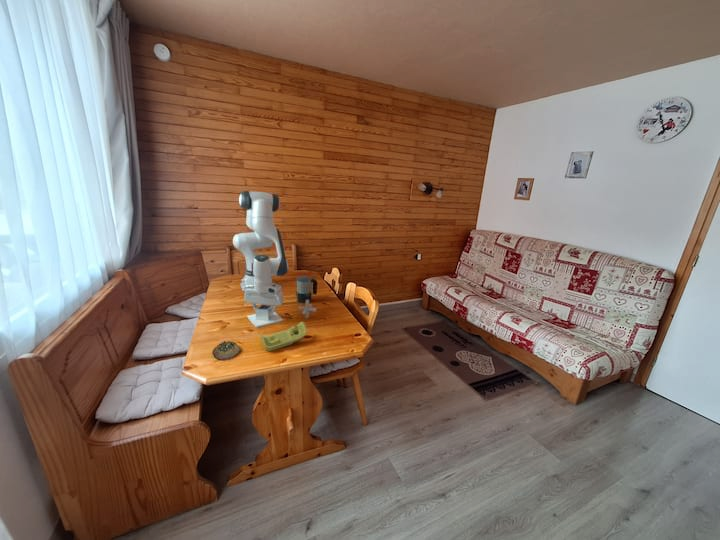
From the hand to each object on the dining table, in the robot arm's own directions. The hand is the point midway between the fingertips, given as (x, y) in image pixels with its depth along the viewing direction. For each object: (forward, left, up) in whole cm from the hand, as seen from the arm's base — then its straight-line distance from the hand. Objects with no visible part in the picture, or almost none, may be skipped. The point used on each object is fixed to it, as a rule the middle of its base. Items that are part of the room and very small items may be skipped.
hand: (264, 310), depth 147 cm
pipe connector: (+10, +20, -5) cm, 23 cm away
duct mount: (0, 0, -5) cm, 5 cm away
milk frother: (-16, +31, -5) cm, 35 cm away
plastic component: (+27, -1, -5) cm, 28 cm away
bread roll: (+21, -24, -5) cm, 33 cm away
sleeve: (0, 0, -4) cm, 4 cm away
